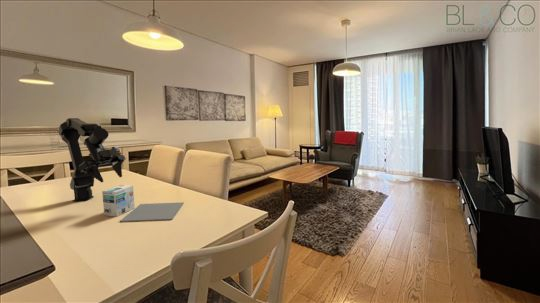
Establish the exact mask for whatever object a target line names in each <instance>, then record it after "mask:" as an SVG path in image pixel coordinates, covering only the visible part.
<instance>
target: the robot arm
mask: <svg viewBox="0 0 540 303" xmlns="http://www.w3.org/2000/svg"><path fill="white" fill-rule="evenodd" d="M57 132H58V135H59V136H60V137H61V138H60V139H61V140H62V141H63V142H65V143H66V144H67V148H68V152H69V155H70V159H71V160H70V161H71V163H72V167H73V173H72V175H71V180H70V184H69V187H70V189H71V190H72V191H73V193H74V194H73V196H74V199H73V200H72V202H86V201H89V200H91V199H92V198H94V197H95V196H94V195H93V190H92V187H94V185H95V179H96V180H97V181H99V182H100V183H103V182H104V178H103V176H102V175H101V173H100V170H99V166H103V165H109V164H110V165H111V168H112V169H113V171H114V173H115V174H117V176H118V177H119V178H122V177H123V172H122V171H123V170H122V164H123V163H125V160H126V156H125V155H124V154H120V153H121V151H120V150H121V149H120V148H119V146H118V145H117V146H112V147H111V148H110V149H109V148H107V147H104V145H103V143H104V142H105V141H107V139H108V138H109V131H108V130H106V129H105V128H103V127H102V126H101V125H99V124H97V123H88V122H86V121H83V120H81V118H78V117H71V118H66V120H65V121H64V122H62V123H61V124H59V127H58V131H57ZM81 137H83V138H84V137H86V138H84V141H83V145H84V146H86V149H87V150H88V152H89V154H88V156H89V157H91V158H92V159H89V160H84V156H83V153H82V150H81V146H80V143H79V140H80V138H81Z"/></svg>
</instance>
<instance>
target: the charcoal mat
mask: <svg viewBox="0 0 540 303" xmlns="http://www.w3.org/2000/svg"><path fill="white" fill-rule="evenodd" d="M184 204H185V202H182V201H181V202H163V203H162V202H157V203H156V202H155V203H139V205H137V206H136V207H135V208H134V209H132V210H130V211H129V212H128V214H126V215H125V216H124V217H123V218H121V219H120V220H119V222H120V223H124V222H125V223H127V222H128V223H131V222H152V221H153V222H154V221H156V222H158V221H173V219H174V218H175V216H176V215H177V214H178V212H180V210H181V208H182V207H183V205H184Z"/></svg>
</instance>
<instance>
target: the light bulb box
mask: <svg viewBox="0 0 540 303" xmlns="http://www.w3.org/2000/svg"><path fill="white" fill-rule="evenodd" d="M134 192H135V190H134V185H126V184H120V185H118V186H115V187H111V188H108V189H106V190H102V192H101V193H102V202H103V203H102V204H103V213H104V216H107V217H110V216H111V217H119V216H121V215H123V214H125V213H129V212H131V211H133V210H134V209H135V208H136V207H135V194H134Z"/></svg>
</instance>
